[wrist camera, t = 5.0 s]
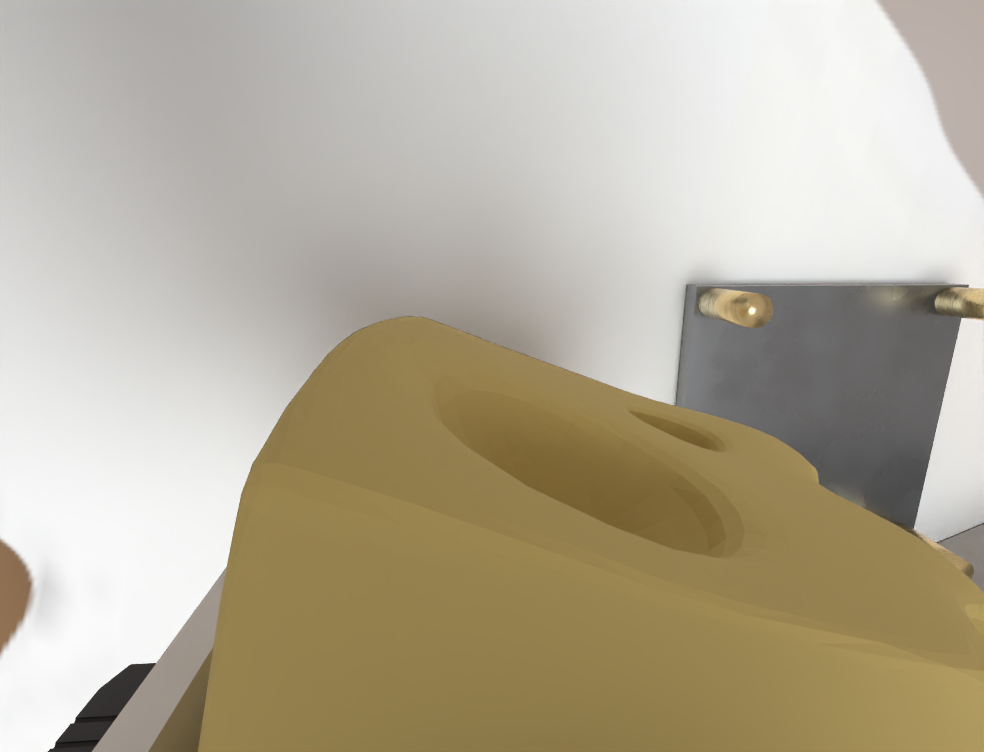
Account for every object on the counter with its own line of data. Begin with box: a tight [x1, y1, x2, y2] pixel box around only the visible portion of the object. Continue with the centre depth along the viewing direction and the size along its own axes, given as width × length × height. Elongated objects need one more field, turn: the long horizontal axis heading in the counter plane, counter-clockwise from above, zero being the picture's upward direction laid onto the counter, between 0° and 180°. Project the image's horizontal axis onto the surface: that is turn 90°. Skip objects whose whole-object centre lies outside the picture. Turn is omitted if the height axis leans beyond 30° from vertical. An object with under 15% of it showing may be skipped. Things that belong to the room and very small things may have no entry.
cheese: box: [198, 316, 984, 752], centre depth 10 cm, size 10×11×10 cm
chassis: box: [676, 284, 984, 579], centre depth 28 cm, size 16×16×5 cm
